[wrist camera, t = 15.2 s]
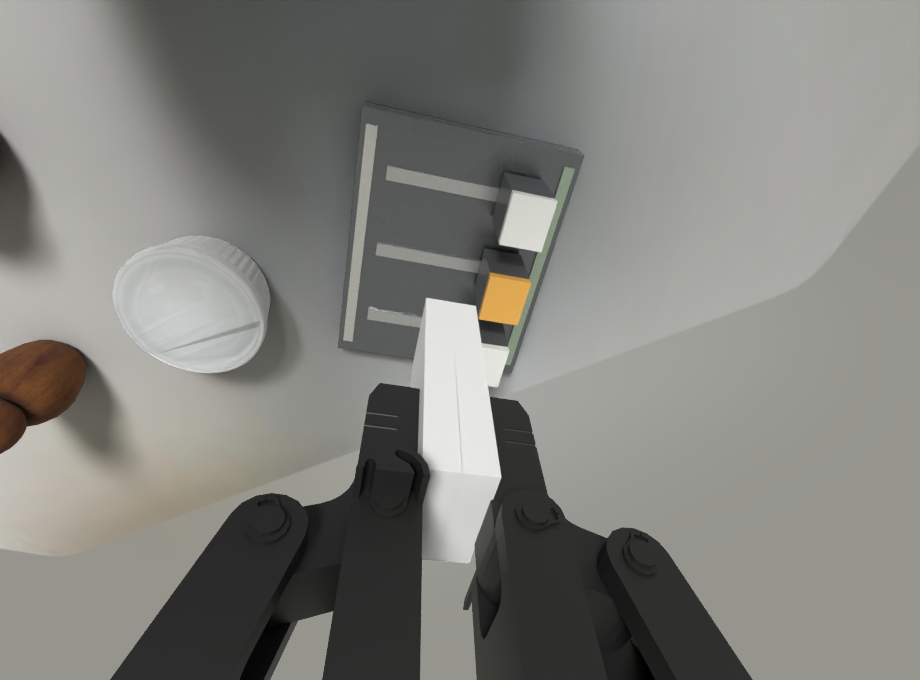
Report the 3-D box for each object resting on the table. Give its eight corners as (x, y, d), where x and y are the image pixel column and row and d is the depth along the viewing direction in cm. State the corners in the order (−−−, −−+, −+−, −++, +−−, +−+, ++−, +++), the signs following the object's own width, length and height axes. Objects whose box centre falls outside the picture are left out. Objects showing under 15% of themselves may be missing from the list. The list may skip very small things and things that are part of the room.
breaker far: (458, 347, 44) (461, 382, 40) (467, 313, 43) (471, 345, 38) (491, 352, 45) (497, 387, 41) (501, 318, 43) (509, 351, 39)
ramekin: (243, 360, 47) (224, 396, 43) (123, 294, 43) (87, 326, 38) (306, 277, 43) (291, 307, 38) (179, 194, 39) (146, 217, 34)
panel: (341, 335, 46) (337, 349, 44) (365, 102, 35) (361, 106, 34) (508, 360, 48) (511, 374, 47) (577, 149, 38) (584, 156, 36)
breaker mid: (474, 288, 41) (478, 319, 37) (484, 248, 39) (490, 276, 35) (509, 294, 42) (517, 325, 38) (520, 254, 40) (531, 283, 36)
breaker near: (491, 219, 38) (499, 244, 34) (504, 171, 36) (513, 192, 32) (529, 226, 39) (541, 252, 34) (543, 180, 37) (557, 201, 32)
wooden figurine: (81, 327, 44) (-57, 451, 32) (109, 379, 47) (-6, 510, 35) (4, 332, 44) (-165, 459, 32) (38, 384, 47) (-104, 517, 35)
